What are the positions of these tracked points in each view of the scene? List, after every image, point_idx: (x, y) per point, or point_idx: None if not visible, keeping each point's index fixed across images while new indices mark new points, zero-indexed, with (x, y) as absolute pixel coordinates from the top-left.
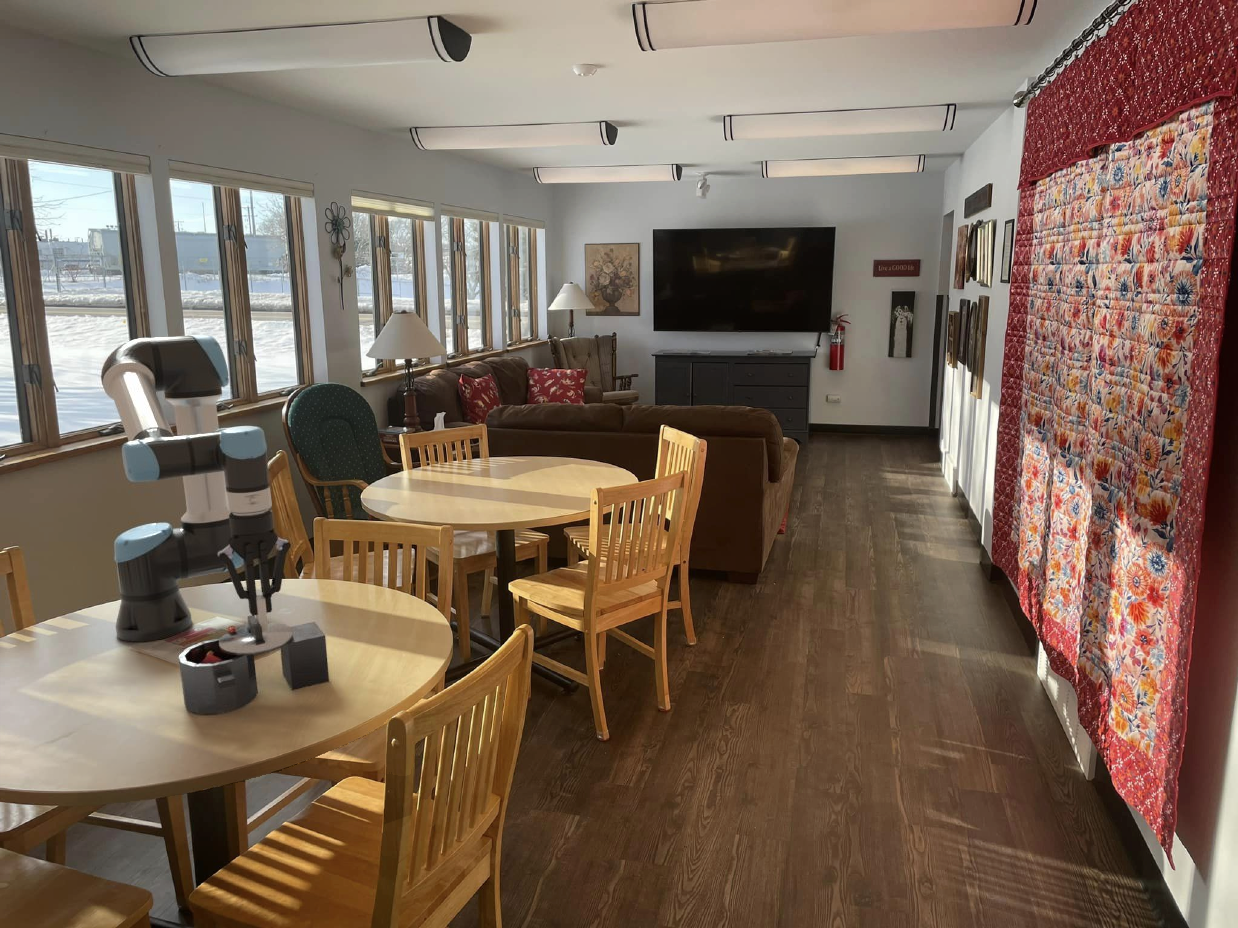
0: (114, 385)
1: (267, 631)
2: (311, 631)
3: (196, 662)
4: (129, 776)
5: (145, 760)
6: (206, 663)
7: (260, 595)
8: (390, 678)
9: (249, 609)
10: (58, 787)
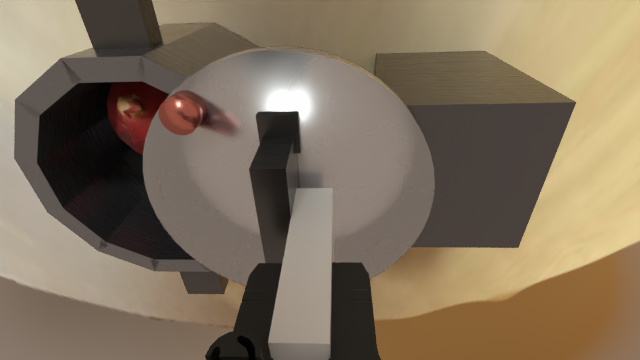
0: None
1: (339, 177)
2: (500, 195)
3: (93, 86)
4: (99, 288)
5: (109, 264)
6: (133, 145)
7: (314, 355)
8: (573, 212)
9: (247, 287)
10: (3, 271)
